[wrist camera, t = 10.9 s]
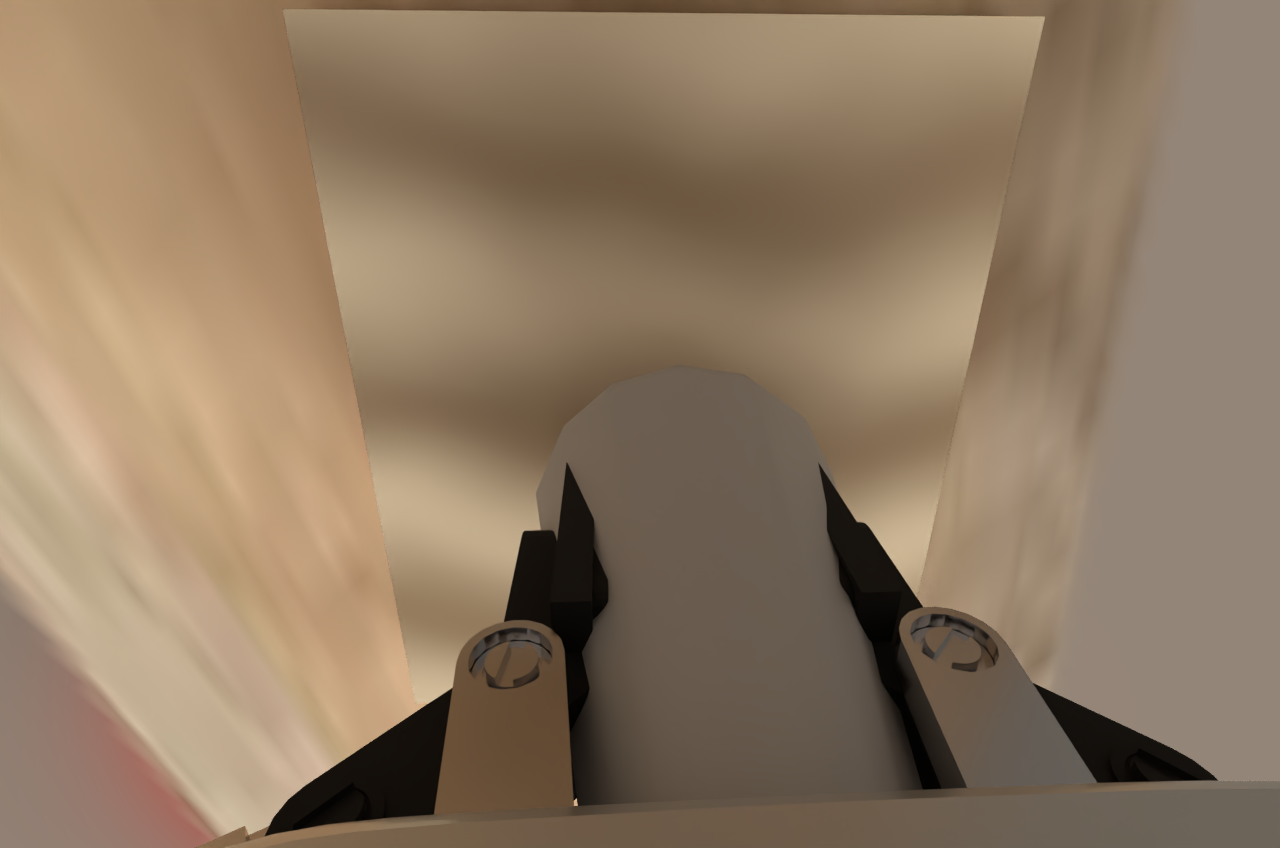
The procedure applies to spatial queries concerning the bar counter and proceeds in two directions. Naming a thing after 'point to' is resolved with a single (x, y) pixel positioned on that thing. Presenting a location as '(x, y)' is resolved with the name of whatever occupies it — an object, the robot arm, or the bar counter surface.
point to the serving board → (647, 250)
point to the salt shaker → (717, 603)
